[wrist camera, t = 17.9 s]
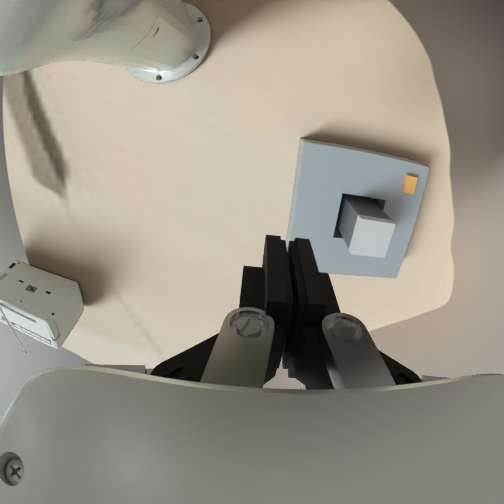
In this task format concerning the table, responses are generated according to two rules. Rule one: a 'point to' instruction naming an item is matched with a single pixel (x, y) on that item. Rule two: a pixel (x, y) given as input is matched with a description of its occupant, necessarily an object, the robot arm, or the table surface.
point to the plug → (364, 226)
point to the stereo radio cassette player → (39, 303)
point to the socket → (356, 183)
